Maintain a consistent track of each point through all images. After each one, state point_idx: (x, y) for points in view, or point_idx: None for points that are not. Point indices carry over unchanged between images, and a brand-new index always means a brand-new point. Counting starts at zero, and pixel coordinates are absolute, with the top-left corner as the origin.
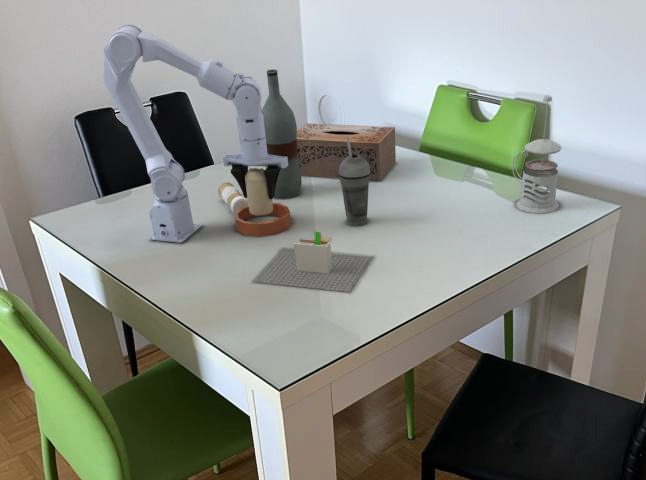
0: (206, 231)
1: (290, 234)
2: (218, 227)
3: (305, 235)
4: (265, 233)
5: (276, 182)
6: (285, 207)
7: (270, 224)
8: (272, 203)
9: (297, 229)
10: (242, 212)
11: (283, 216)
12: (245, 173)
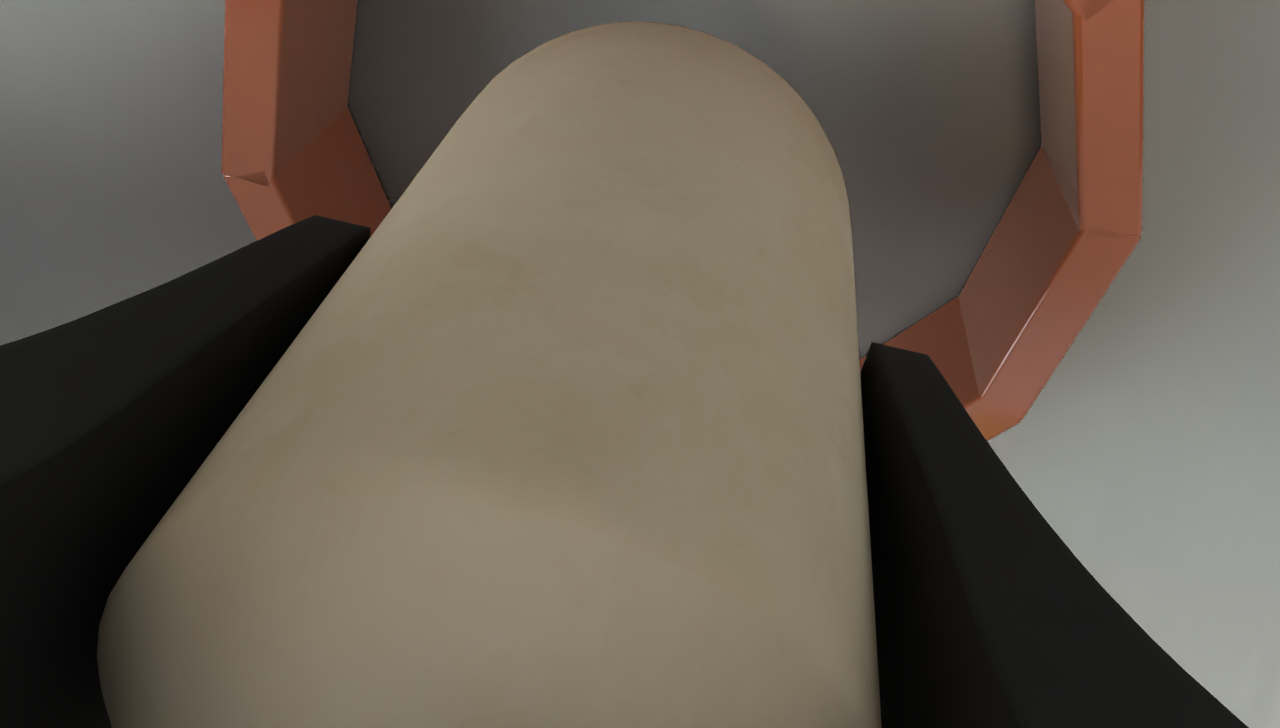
0: (16, 224)
1: (1046, 433)
2: (96, 127)
3: (1227, 481)
4: None
5: (1061, 549)
6: (1085, 16)
7: None
8: (852, 252)
9: (1158, 319)
10: (302, 20)
11: (1013, 387)
12: (60, 665)
